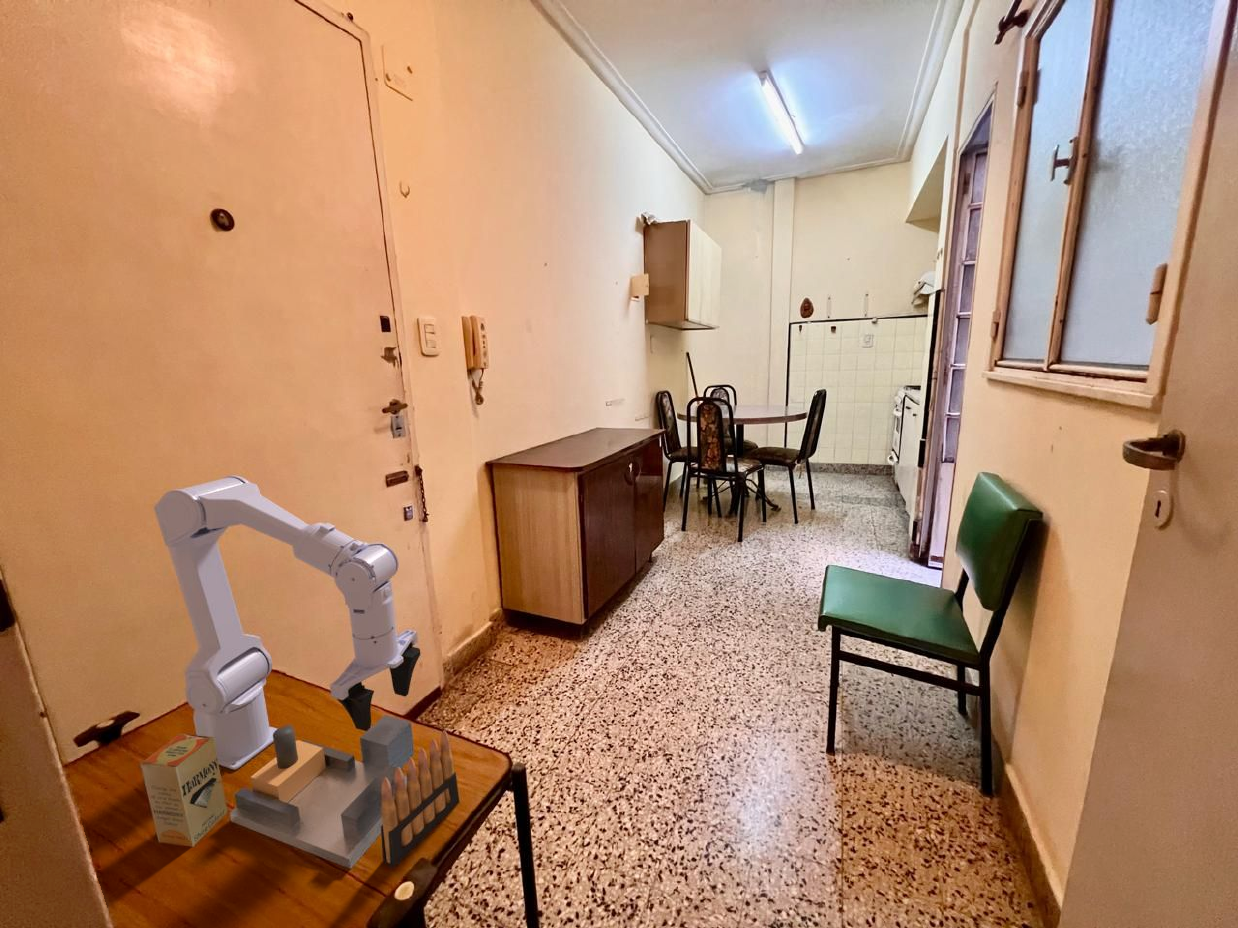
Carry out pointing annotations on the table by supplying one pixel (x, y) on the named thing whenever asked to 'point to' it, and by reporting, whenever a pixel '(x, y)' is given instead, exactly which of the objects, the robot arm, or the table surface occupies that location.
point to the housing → (387, 743)
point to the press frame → (323, 810)
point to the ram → (288, 766)
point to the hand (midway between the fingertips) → (383, 710)
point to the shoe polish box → (184, 789)
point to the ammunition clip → (417, 801)
